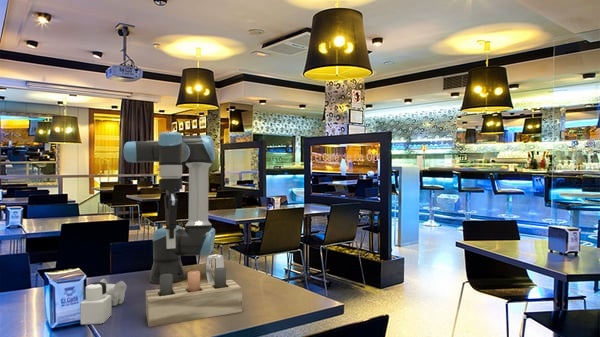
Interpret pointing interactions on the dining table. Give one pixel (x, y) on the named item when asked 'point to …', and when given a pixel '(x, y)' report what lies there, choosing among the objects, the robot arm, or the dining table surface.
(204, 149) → the robot arm
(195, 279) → the terracotta plug
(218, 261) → the beer glass
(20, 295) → the dining table surface
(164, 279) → the black plug near
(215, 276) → the black plug far
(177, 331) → the dining table surface
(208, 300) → the socket block
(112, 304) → the elephant figurine
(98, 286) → the medicine bottle
